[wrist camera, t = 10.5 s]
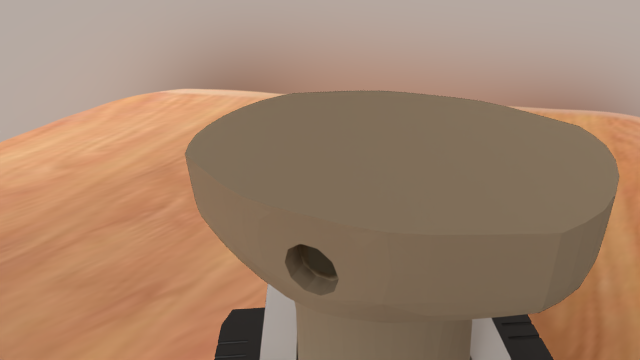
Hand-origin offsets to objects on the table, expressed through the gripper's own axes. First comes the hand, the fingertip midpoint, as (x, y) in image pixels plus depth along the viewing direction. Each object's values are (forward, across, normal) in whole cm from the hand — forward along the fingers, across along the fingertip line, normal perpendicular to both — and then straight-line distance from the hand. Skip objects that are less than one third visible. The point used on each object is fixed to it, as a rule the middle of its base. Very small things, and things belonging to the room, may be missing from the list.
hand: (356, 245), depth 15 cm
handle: (-5, 0, -9) cm, 11 cm away
